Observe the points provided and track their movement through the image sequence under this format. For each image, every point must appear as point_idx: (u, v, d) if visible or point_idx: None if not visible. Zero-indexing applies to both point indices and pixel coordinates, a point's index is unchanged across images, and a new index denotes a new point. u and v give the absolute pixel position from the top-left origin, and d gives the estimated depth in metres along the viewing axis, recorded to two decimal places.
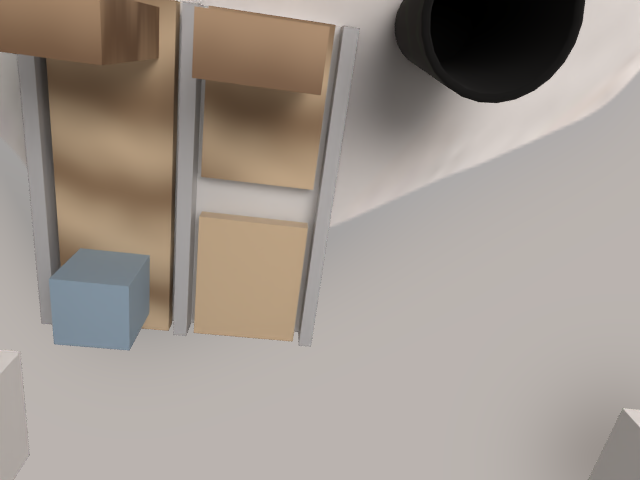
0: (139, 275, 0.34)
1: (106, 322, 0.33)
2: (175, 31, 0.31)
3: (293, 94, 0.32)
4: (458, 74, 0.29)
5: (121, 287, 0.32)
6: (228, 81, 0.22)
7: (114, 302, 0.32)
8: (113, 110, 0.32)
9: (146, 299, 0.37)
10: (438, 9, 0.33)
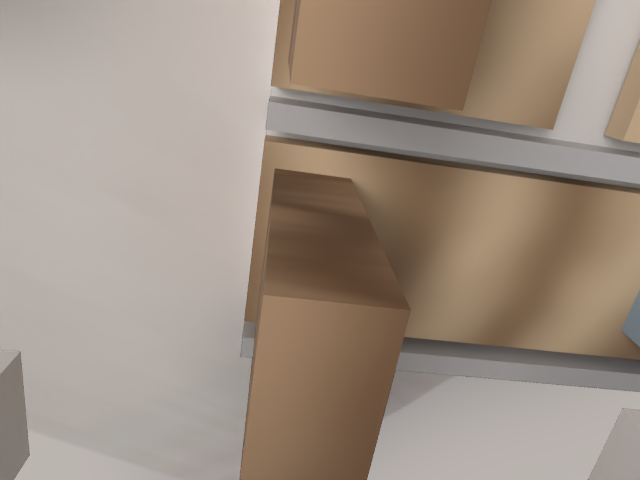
0: None
1: None
2: (310, 146, 0.19)
3: None
4: None
5: None
6: (486, 4, 0.08)
7: None
8: (422, 255, 0.21)
9: None
10: None
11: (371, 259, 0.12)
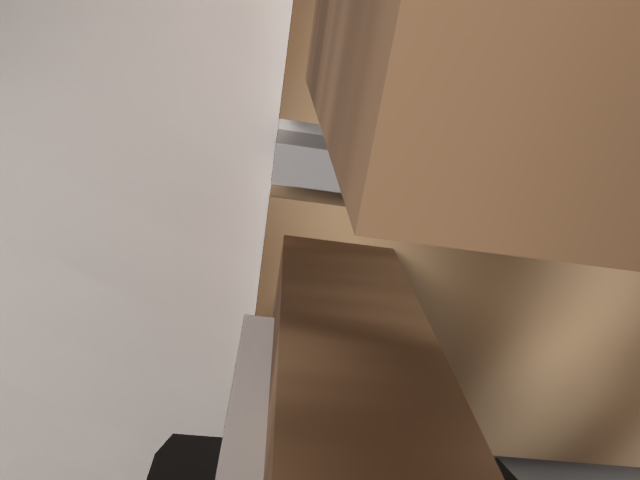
0: None
1: None
2: (336, 204, 0.13)
3: None
4: None
5: None
6: None
7: None
8: (490, 350, 0.15)
9: None
10: None
11: None
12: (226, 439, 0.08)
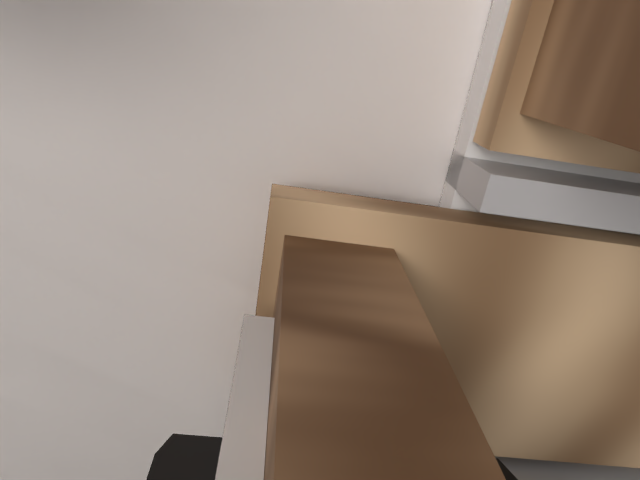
0: None
1: None
2: (337, 204, 0.13)
3: None
4: None
5: None
6: None
7: None
8: (490, 351, 0.15)
9: None
10: None
11: None
12: (226, 439, 0.08)
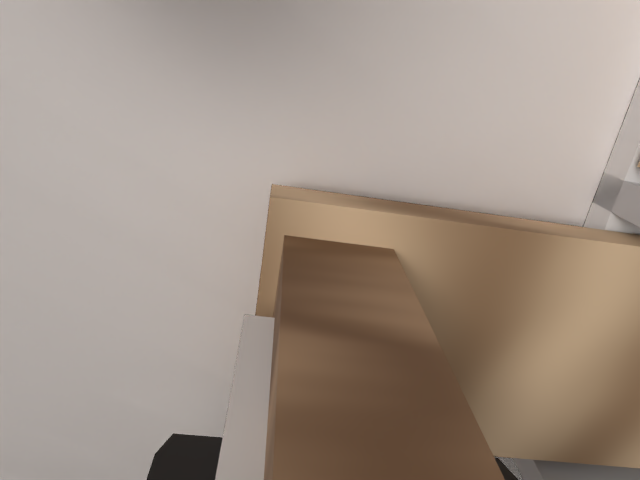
0: None
1: None
2: (336, 204, 0.13)
3: None
4: None
5: None
6: None
7: None
8: (491, 351, 0.15)
9: None
10: None
11: None
12: (226, 439, 0.08)
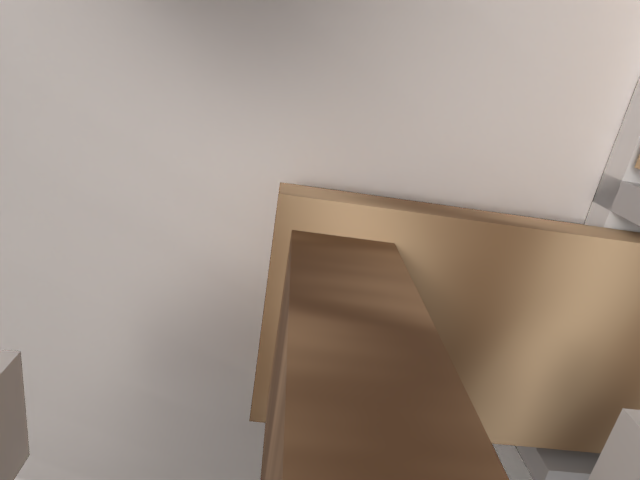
0: None
1: None
2: (340, 200, 0.14)
3: None
4: None
5: None
6: None
7: None
8: (487, 341, 0.15)
9: None
10: None
11: (463, 443, 0.07)
12: None
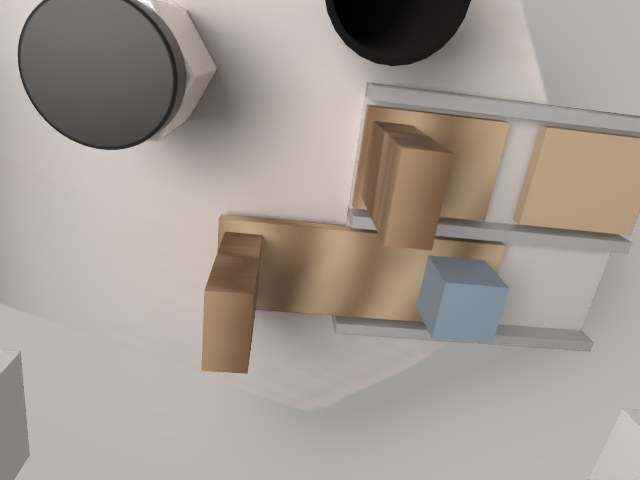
0: (441, 269, 0.38)
1: (478, 302, 0.37)
2: (241, 220, 0.39)
3: None
4: None
5: (446, 287, 0.36)
6: (436, 224, 0.29)
7: (459, 294, 0.37)
8: (303, 270, 0.41)
9: (469, 262, 0.40)
10: (352, 2, 0.35)
11: (249, 276, 0.32)
12: None
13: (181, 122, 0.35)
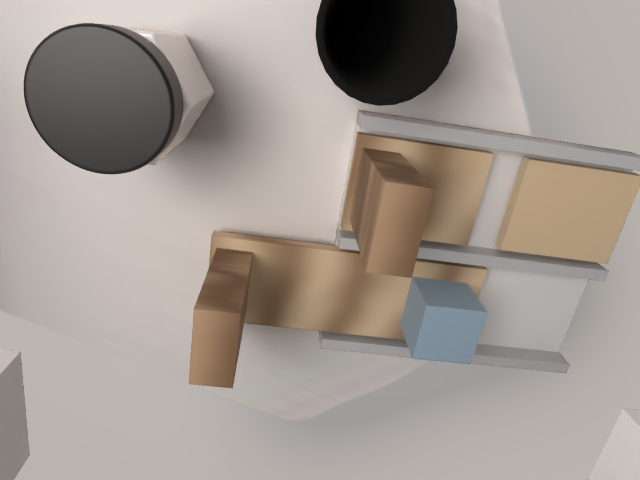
0: (424, 291, 0.40)
1: (457, 325, 0.39)
2: (233, 237, 0.40)
3: None
4: (413, 31, 0.32)
5: (427, 310, 0.38)
6: (416, 254, 0.30)
7: (439, 317, 0.38)
8: (291, 287, 0.42)
9: (451, 285, 0.42)
10: (346, 34, 0.36)
11: (237, 295, 0.34)
12: None
13: (178, 143, 0.36)
